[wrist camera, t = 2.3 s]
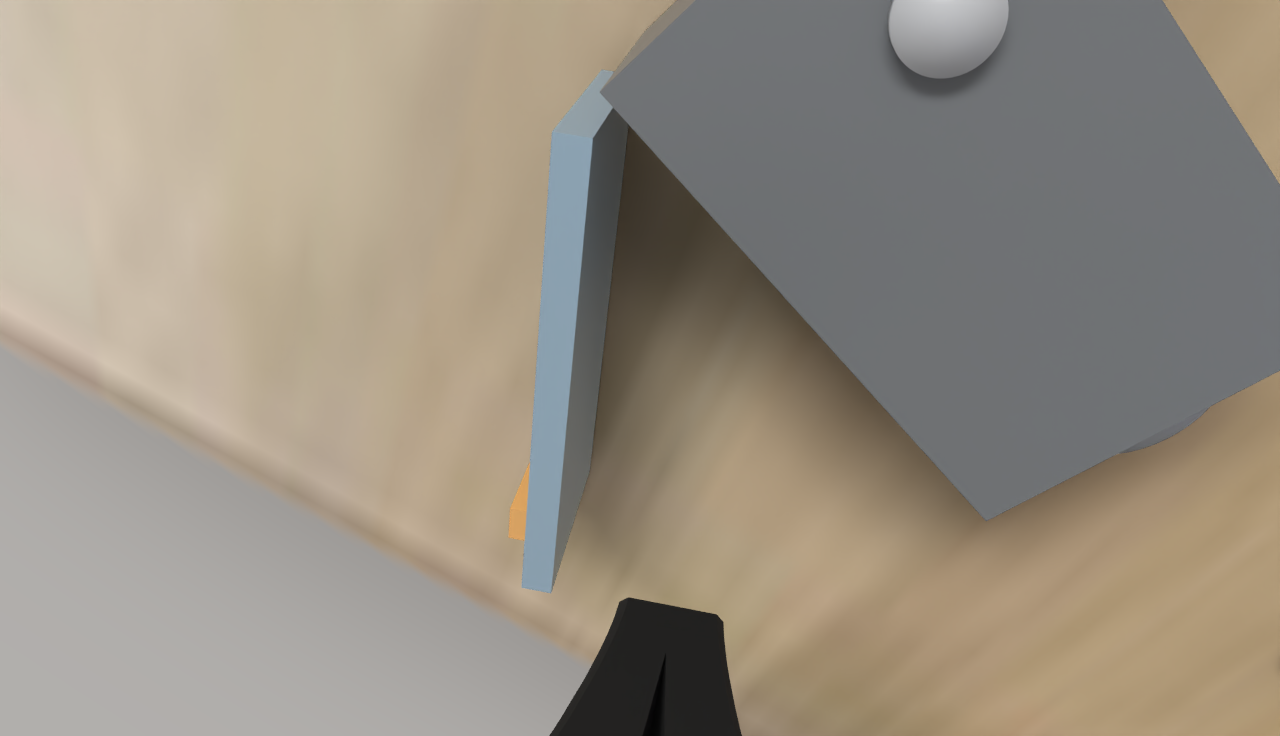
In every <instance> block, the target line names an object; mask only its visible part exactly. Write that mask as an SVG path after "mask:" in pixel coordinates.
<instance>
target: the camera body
mask: <svg viewBox="0 0 1280 736" xmlns="http://www.w3.org/2000/svg"><path fill="white" fill-rule="evenodd" d="M600 93H601V95H602V96H603V97H604V98H605V99H606V100H607V101H608V102H609V103H610V105H611V106H612V107H613V108H614V109H615V110H616V111H617V112H618V113H619V114H620V116H621V117H622V118H623V119H624V120H625V121H626V122H627V123H628V124H629V126H630V127H631V128H632V129H633V130H634V131H635V132H636V133H637V134H638V136H639V137H640V138H641V139H642V140H643V141H644V142H645V143H646V144H647V146H648V147H649V148H650V149H651V150H652V151H653V152H654V153H655V154H656V156H657V157H658V158H659V159H660V160H661V161H662V162H663V163H664V164H665V166H666V167H667V168H668V169H669V170H670V171H671V172H672V173H673V174H674V176H675V177H676V178H677V179H678V180H679V181H680V182H681V183H682V184H683V185H684V187H685V188H686V189H687V190H688V191H689V192H690V193H691V194H692V195H693V197H694V198H695V199H696V200H697V201H698V202H699V203H700V204H701V205H702V207H703V208H704V209H705V210H706V211H707V212H708V213H709V214H710V215H711V217H712V218H713V219H714V220H715V221H716V222H717V223H718V224H719V225H720V227H721V228H722V229H723V230H724V231H725V232H726V233H727V234H728V235H729V237H730V238H731V239H732V240H733V241H734V242H735V243H736V244H737V245H738V247H739V248H740V249H741V250H742V251H743V252H744V253H745V254H746V255H747V256H748V258H749V259H750V260H751V261H752V262H753V263H754V264H755V265H756V266H757V268H758V269H759V270H760V271H761V272H762V273H763V274H764V275H765V276H766V278H767V279H768V280H769V281H770V282H771V283H772V284H773V285H774V286H775V288H776V289H777V290H778V291H779V292H780V293H781V294H782V295H783V296H784V298H785V299H786V300H787V301H788V302H789V303H790V304H791V305H792V306H793V308H794V309H795V310H796V311H797V312H798V313H799V314H800V315H801V316H802V318H803V319H804V320H805V321H806V322H807V323H808V324H809V325H810V326H811V328H812V329H813V330H814V331H815V332H816V333H817V334H818V335H819V336H820V337H821V339H822V340H823V341H824V342H825V343H826V344H827V345H828V346H829V347H830V349H831V350H832V351H833V352H834V353H835V354H836V355H837V356H838V357H839V359H840V360H841V361H842V362H843V363H844V364H845V365H846V366H847V367H848V369H849V370H850V371H851V372H852V373H853V374H854V375H855V376H856V377H857V379H858V380H859V381H860V382H861V383H862V384H863V385H864V386H865V387H866V389H867V390H868V391H869V392H870V393H871V394H872V395H873V396H874V397H875V399H876V400H877V401H878V402H879V403H880V404H881V405H882V406H883V407H884V408H885V410H886V411H887V412H888V413H889V414H890V415H891V416H892V417H893V418H894V420H895V421H896V422H897V423H898V424H899V425H900V426H901V427H902V428H903V430H904V431H905V432H906V433H907V434H908V435H909V436H910V437H911V438H912V440H913V441H914V442H915V443H916V444H917V445H918V446H919V447H920V448H921V450H922V451H923V452H924V453H925V454H926V455H927V456H928V457H929V458H930V460H931V461H932V462H933V463H934V464H935V465H936V466H937V467H938V468H939V470H940V471H941V472H942V473H943V474H944V475H945V476H946V477H947V478H948V479H949V481H950V482H951V483H952V484H953V485H954V486H955V487H956V488H957V489H958V491H959V492H960V493H961V494H962V495H963V496H964V497H965V498H966V499H967V501H968V502H969V503H970V504H971V505H972V506H973V507H974V508H975V509H976V511H977V512H978V513H979V514H980V515H981V516H982V517H983V518H984V519H985V521H987V520H989V519H991V518H993V517H995V516H997V515H999V514H1001V513H1003V512H1005V511H1007V510H1009V509H1011V508H1013V507H1015V506H1017V505H1019V504H1021V503H1022V502H1024V501H1026V500H1028V499H1030V498H1032V497H1034V496H1036V495H1038V494H1040V493H1042V492H1044V491H1046V490H1048V489H1050V488H1052V487H1054V486H1056V485H1058V484H1060V483H1062V482H1063V481H1065V480H1067V479H1069V478H1071V477H1073V476H1075V475H1077V474H1079V473H1081V472H1083V471H1085V470H1087V469H1089V468H1091V467H1093V466H1095V465H1097V464H1099V463H1101V462H1102V461H1104V460H1106V459H1108V458H1110V457H1112V456H1114V455H1116V454H1120V453H1126V452H1132V451H1135V450H1139V449H1143V448H1146V447H1149V446H1151V445H1154V444H1157V443H1159V442H1161V441H1163V440H1165V439H1168V438H1169V437H1171V436H1173V435H1175V434H1177V433H1178V432H1180V431H1181V430H1183V429H1184V428H1186V427H1187V426H1189V425H1190V424H1192V423H1193V422H1194V421H1195V420H1197V419H1198V418H1199V417H1200V416H1201V415H1202V414H1203V413H1204V412H1205V411H1206V410H1207V409H1208V408H1209V407H1210V406H1212V405H1214V404H1216V403H1218V402H1220V401H1221V400H1223V399H1225V398H1227V397H1229V396H1231V395H1233V394H1235V393H1237V392H1239V391H1241V390H1243V389H1245V388H1247V387H1249V386H1251V385H1253V384H1255V383H1257V382H1259V381H1260V380H1262V379H1264V378H1266V377H1268V376H1270V375H1272V374H1274V373H1276V372H1278V371H1280V184H1279V183H1278V181H1277V180H1276V178H1275V176H1274V175H1273V173H1272V172H1271V170H1270V169H1269V167H1268V165H1267V164H1266V162H1265V161H1264V159H1263V158H1262V156H1261V154H1260V153H1259V151H1258V150H1257V148H1256V147H1255V145H1254V143H1253V142H1252V140H1251V139H1250V137H1249V136H1248V134H1247V132H1246V131H1245V129H1244V128H1243V126H1242V125H1241V123H1240V121H1239V120H1238V118H1237V117H1236V115H1235V114H1234V112H1233V110H1232V109H1231V107H1230V106H1229V104H1228V103H1227V101H1226V100H1225V98H1224V96H1223V95H1222V93H1221V92H1220V90H1219V89H1218V87H1217V85H1216V84H1215V82H1214V81H1213V79H1212V78H1211V76H1210V74H1209V73H1208V71H1207V70H1206V68H1205V67H1204V65H1203V63H1202V62H1201V60H1200V59H1199V57H1198V56H1197V54H1196V52H1195V51H1194V49H1193V48H1192V46H1191V45H1190V43H1189V41H1188V40H1187V38H1186V37H1185V35H1184V34H1183V32H1182V30H1181V29H1180V27H1179V26H1178V24H1177V23H1176V21H1175V19H1174V18H1173V16H1172V15H1171V13H1170V12H1169V10H1168V8H1167V7H1166V5H1165V4H1164V2H1163V1H1162V0H677V1H675V2H674V3H673V4H672V5H671V6H670V7H669V8H668V9H667V10H666V11H665V12H664V13H663V14H662V15H661V16H660V17H659V18H658V19H657V20H656V21H655V22H654V23H653V24H652V25H651V26H650V27H649V28H648V29H647V30H646V31H644V33H643V34H642V36H641V37H640V38H639V40H638V41H637V42H636V44H635V45H634V46H633V48H632V49H631V50H630V52H629V53H628V54H627V56H626V57H625V58H624V60H623V61H622V62H621V64H620V65H619V66H618V68H617V69H616V70H615V72H614V73H613V74H612V76H611V77H610V78H609V80H608V81H607V82H606V84H605V85H604V86H603V88H602V89H601V91H600Z"/></svg>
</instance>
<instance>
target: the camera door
mask: <svg viewBox="0 0 1280 736" xmlns="http://www.w3.org/2000/svg"><path fill="white" fill-rule="evenodd" d="M613 73H614V72H613V71H607V70H601V72H600V73H599V74H598V75H597V77H596V78H595V79H594V80H593V81H592V83H591V84H590V85H589V86H588V88H587V89H586V90H585V91H584V93H583V94H582V95H581V96H580V98H579V99H578V100H577V101H576V103H575V104H574V105H573V106H572V108H571V109H570V110H569V111H568V113H567V114H566V115H565V116H564V118H563V119H562V120H561V121H560V122H559V124H558V125H557V126H556V127H555V129H554V130H553V131H552V141H551V156H550V170H549V185H548V200H547V215H546V230H545V245H544V260H543V275H542V290H541V305H540V320H539V335H538V350H537V365H536V380H535V395H534V410H533V425H532V440H531V455H530V462H529V465H528V467H527V469H526V472H525V474H524V477H523V479H522V481H521V484H520V486H519V489H518V491H517V493H516V496H515V498H514V501H513V503H512V505H511V508H510V521H509V538H513V539H519V540H524V541H525V544H524V559H523V574H522V588H527V589H532V590H537V591H542V592H547V593H551V592H552V589H553V586H554V583H555V580H556V576H557V573H558V570H559V567H560V564H561V561H562V557H563V554H564V551H565V548H566V545H567V542H568V538H569V535H570V532H571V529H572V526H573V523H574V519H575V516H576V513H577V510H578V507H579V504H580V500H581V497H582V494H583V491H584V488H585V485H586V481H587V478H588V475H589V472H590V465H591V456H592V447H593V438H594V429H595V420H596V411H597V403H598V394H599V385H600V376H601V367H602V358H603V349H604V340H605V331H606V322H607V314H608V305H609V296H610V287H611V278H612V269H613V260H614V251H615V242H616V233H617V224H618V216H619V207H620V198H621V189H622V180H623V171H624V162H625V153H626V144H627V135H628V127H629V124H628V123H627V122H626V121H625V120H624V119H623V118H622V117H621V116H620V114H619V113H618V112H617V111H616V110H615V109H614V108H613V107H612V106H611V105H610V103H609V102H608V101H607V100H606V99H605V98H604V97H603V96H602V95H601V93H600V91H601V89H602V88H603V86H604V85H605V84H606V82H607V81H608V80H609V78H610V77H611V76H612V74H613Z"/></svg>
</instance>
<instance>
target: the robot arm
mask: <svg viewBox="0 0 1280 736" xmlns="http://www.w3.org/2000/svg"><path fill="white" fill-rule="evenodd" d="M550 736H742V735H741V731H740V727H739V722H738V718H737V714H736V709H735V705H734V699H733V694H732V689H731V684H730V679H729V673H728V667H727V660H726V652H725V642H724V628H723V621H722V620H721V619H720V618H719V617H718V615H716V614H711V613H706V612H701V611H696V610H691V609H686V608H680V607H675V606H670V605H665V604H660V603H655V602H650V601H644V600H639V599H634V598H627V599H624V600H622V601H620V602H619V605H618V608H617V611H616V614H615V617H614V620H613V622H612V625H611V627H610V629H609V632H608V634H607V636H606V638H605V641H604V643H603V645H602V647H601V649H600V651H599V653H598V655H597V657H596V659H595V660H594V662H593V664H592V666H591V668H590V670H589V672H588V674H587V675H586V677H585V679H584V681H583V682H582V684H581V686H580V688H579V689H578V691H577V692H576V694H575V696H574V697H573V699H572V701H571V702H570V704H569V706H568V707H567V709H566V711H565V712H564V714H563V715H562V717H561V719H560V720H559V722H558V723H557V725H556V727H555V728H554V730H553V731H552V733H551V734H550Z"/></svg>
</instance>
